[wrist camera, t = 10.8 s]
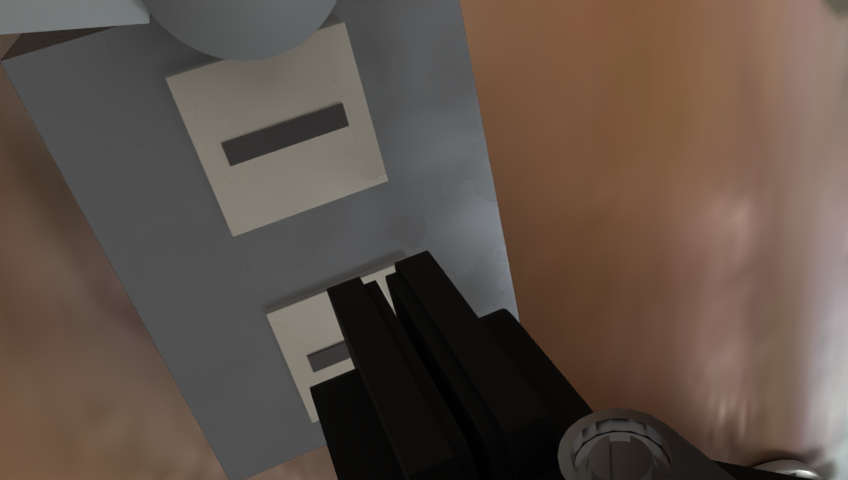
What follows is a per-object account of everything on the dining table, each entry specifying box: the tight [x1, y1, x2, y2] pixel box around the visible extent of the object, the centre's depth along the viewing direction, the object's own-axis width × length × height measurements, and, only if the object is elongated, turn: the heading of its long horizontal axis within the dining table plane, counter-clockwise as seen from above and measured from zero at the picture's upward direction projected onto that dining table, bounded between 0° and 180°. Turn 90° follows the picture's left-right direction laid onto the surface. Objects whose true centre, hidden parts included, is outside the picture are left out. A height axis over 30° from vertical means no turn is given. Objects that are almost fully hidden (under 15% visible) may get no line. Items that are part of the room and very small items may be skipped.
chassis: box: [0, 0, 520, 480], centre depth 23 cm, size 12×19×8 cm, turn 13°
